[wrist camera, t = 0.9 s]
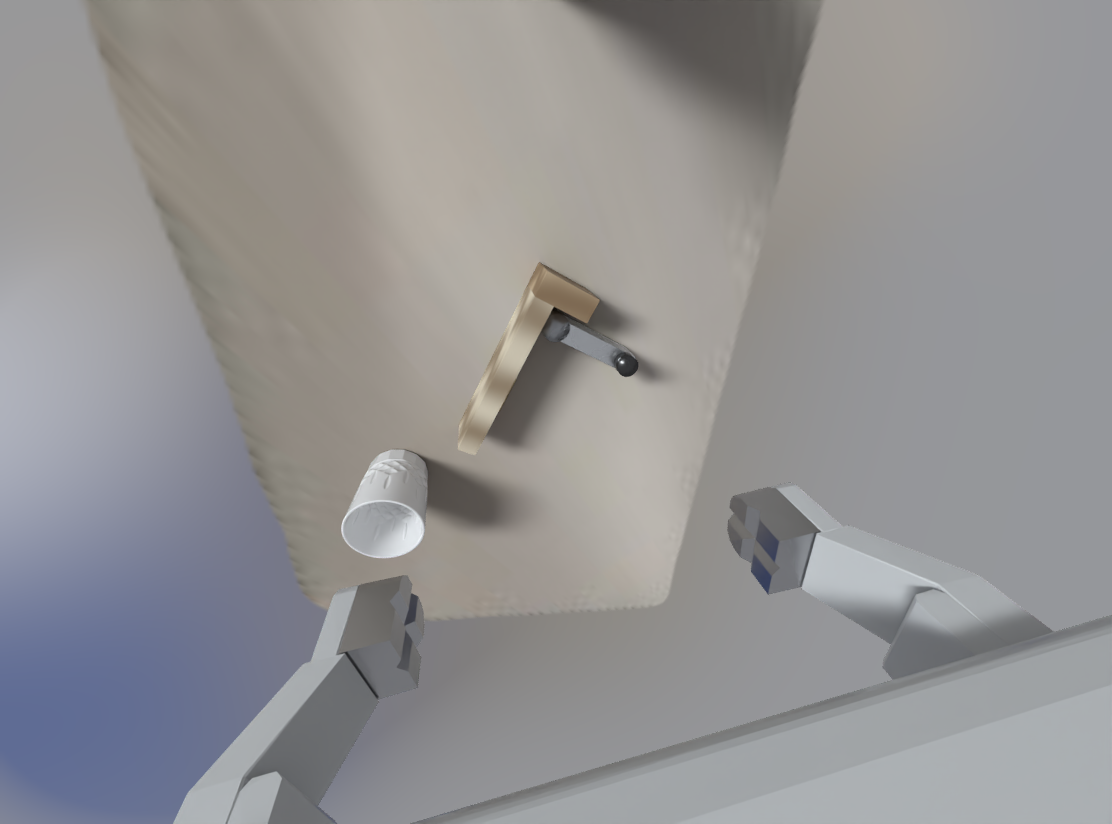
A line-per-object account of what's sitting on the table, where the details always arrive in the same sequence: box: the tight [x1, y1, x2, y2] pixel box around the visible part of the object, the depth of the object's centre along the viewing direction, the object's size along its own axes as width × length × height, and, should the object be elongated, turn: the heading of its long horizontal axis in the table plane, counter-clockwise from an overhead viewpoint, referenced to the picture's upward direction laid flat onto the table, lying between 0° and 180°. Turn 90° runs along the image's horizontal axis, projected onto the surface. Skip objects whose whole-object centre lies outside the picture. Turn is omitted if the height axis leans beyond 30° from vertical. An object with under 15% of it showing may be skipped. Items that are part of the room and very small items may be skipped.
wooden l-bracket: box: [458, 262, 600, 455], centre depth 43 cm, size 20×6×6 cm, turn 152°
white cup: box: [341, 450, 428, 558], centre depth 45 cm, size 8×8×10 cm
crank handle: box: [542, 307, 638, 377], centre depth 42 cm, size 11×3×5 cm, turn 62°
